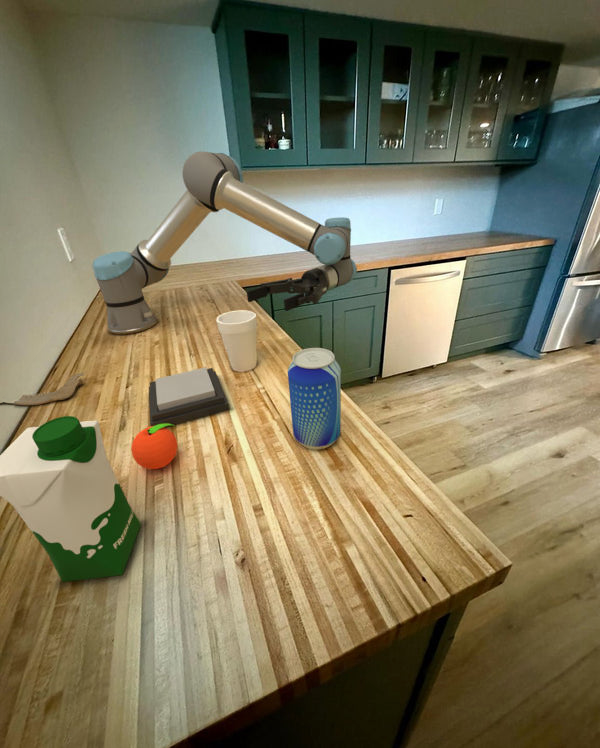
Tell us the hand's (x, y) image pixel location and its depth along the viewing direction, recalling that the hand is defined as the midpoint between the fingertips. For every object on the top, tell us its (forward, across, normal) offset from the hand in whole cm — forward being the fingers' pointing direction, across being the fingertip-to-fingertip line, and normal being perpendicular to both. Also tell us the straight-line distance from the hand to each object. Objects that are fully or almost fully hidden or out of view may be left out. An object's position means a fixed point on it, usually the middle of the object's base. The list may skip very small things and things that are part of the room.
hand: (265, 301), depth 84 cm
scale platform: (+28, -2, -12) cm, 30 cm away
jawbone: (+47, +30, -14) cm, 58 cm away
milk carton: (+54, -24, -14) cm, 61 cm away
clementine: (+40, -15, -14) cm, 45 cm away
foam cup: (+10, 0, -14) cm, 17 cm away
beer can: (+20, -32, -14) cm, 40 cm away
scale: (+28, -2, -14) cm, 31 cm away
